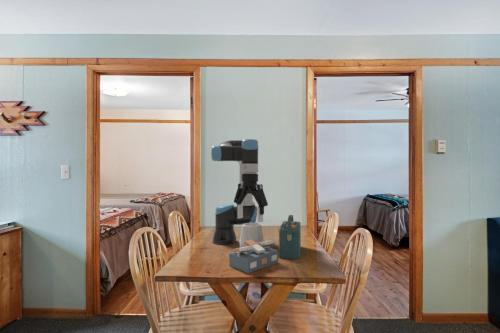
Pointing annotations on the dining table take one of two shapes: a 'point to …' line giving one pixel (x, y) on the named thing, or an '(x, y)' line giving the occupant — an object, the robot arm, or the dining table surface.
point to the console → (253, 259)
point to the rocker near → (243, 249)
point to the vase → (251, 233)
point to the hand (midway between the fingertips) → (249, 220)
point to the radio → (290, 239)
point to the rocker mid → (256, 246)
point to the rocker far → (265, 243)
